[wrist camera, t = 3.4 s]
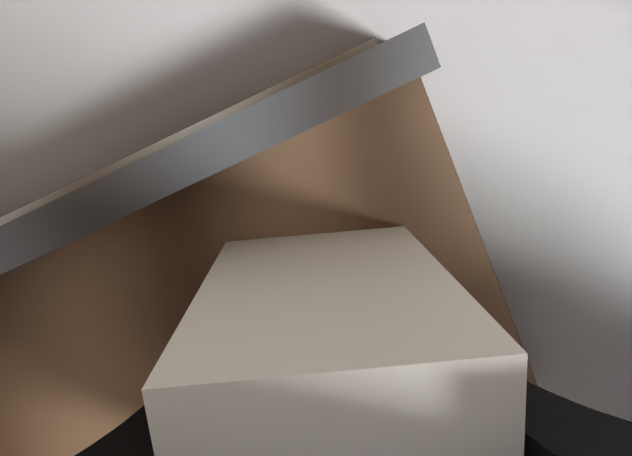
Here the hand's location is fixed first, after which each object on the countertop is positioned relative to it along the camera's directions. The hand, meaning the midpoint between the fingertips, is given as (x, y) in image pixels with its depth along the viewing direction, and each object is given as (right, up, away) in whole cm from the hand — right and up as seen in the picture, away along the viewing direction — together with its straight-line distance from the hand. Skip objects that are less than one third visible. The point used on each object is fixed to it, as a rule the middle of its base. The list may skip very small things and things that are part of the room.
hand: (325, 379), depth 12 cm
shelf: (-3, +1, +3) cm, 4 cm away
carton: (0, 0, +2) cm, 2 cm away
